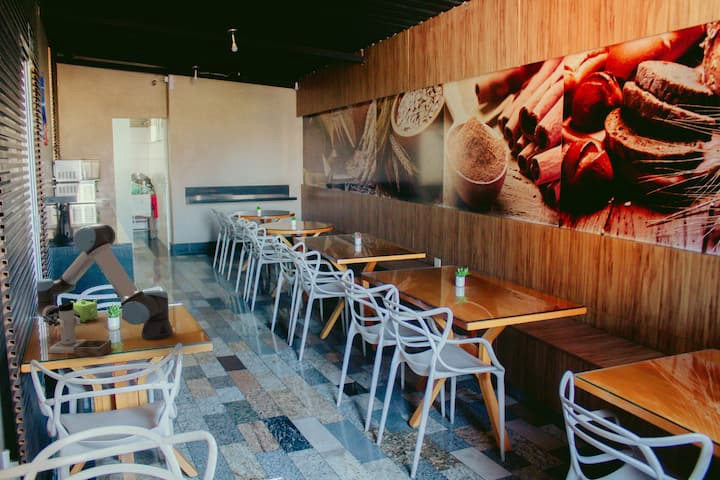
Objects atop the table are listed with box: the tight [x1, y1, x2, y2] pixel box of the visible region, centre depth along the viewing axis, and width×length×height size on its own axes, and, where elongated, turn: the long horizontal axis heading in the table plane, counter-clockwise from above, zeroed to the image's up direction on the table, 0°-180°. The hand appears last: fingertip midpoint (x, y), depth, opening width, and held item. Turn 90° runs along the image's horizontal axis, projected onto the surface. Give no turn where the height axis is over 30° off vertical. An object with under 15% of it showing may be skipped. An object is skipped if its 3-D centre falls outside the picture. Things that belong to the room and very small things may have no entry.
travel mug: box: [58, 302, 77, 346], centre depth 272 cm, size 6×7×20 cm
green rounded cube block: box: [69, 299, 99, 323], centre depth 323 cm, size 15×14×11 cm
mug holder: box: [73, 339, 113, 358], centre depth 269 cm, size 12×12×4 cm
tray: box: [48, 339, 86, 354], centre depth 274 cm, size 12×12×2 cm
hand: (71, 323), depth 269 cm, fingers open, 6 cm apart
